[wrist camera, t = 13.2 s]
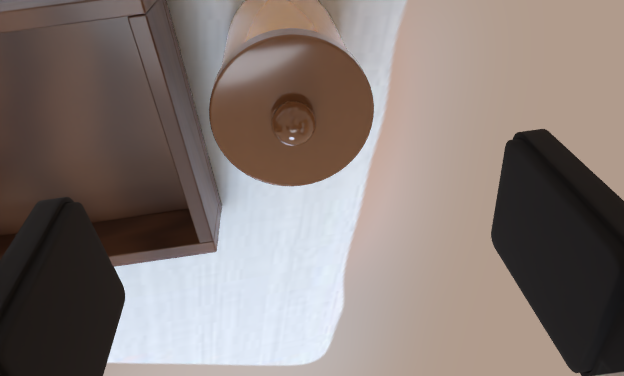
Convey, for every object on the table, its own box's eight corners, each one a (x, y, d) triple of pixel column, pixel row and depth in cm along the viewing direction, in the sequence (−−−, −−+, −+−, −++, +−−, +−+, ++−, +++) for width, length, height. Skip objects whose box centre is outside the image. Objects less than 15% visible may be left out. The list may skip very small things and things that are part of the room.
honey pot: (334, -25, 22) (379, 33, 14) (342, 90, 26) (383, 193, 17) (213, -9, 22) (185, 59, 14) (237, 105, 26) (226, 214, 17)
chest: (159, -26, 22) (140, -7, 18) (222, 207, 29) (217, 252, 26) (-200, 21, 21) (-293, 50, 18) (-42, 244, 29) (-85, 295, 25)
